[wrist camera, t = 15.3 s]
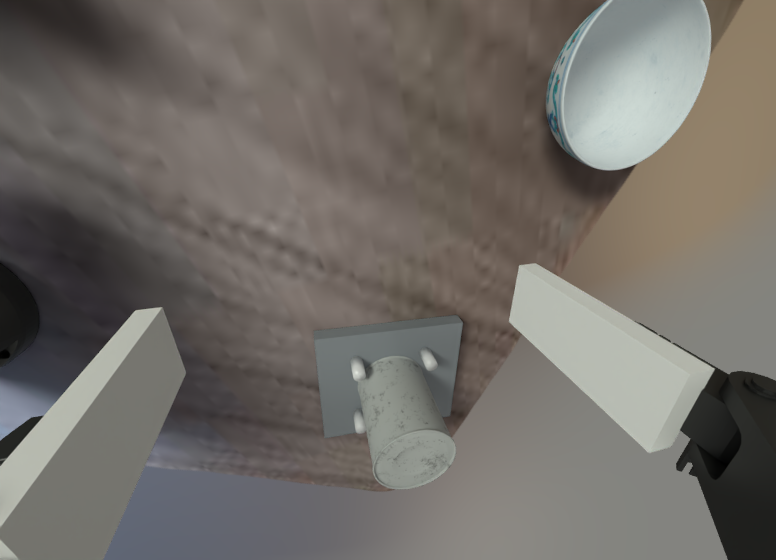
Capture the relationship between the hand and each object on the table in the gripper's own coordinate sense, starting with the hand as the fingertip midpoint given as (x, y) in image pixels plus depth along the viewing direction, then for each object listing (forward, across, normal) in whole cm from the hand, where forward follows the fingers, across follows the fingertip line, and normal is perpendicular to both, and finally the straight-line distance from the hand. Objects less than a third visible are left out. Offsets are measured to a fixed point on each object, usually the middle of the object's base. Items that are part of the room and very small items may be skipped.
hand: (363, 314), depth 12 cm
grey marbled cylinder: (+24, +7, -27) cm, 37 cm away
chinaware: (+25, +29, +10) cm, 39 cm away
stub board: (+26, +7, -27) cm, 38 cm away
